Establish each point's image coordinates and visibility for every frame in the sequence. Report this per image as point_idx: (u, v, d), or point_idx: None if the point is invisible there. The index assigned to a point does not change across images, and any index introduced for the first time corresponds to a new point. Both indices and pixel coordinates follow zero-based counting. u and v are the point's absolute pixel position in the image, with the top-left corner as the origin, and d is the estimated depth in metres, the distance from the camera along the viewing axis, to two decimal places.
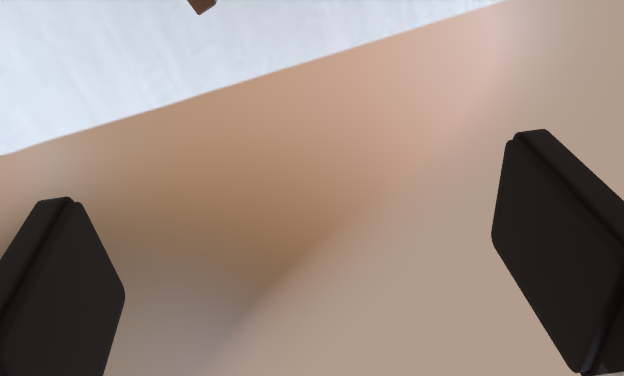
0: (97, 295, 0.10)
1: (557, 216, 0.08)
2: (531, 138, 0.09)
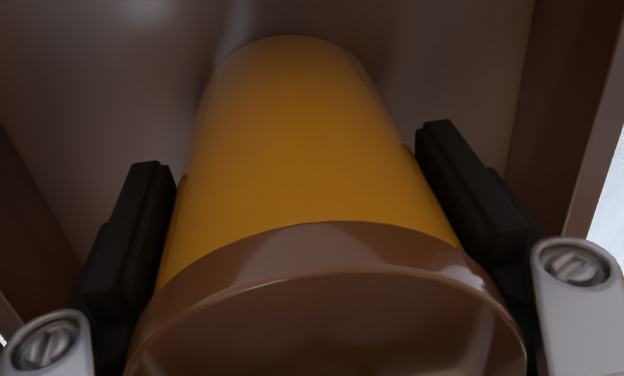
0: None
1: (446, 197, 0.09)
2: (433, 127, 0.10)
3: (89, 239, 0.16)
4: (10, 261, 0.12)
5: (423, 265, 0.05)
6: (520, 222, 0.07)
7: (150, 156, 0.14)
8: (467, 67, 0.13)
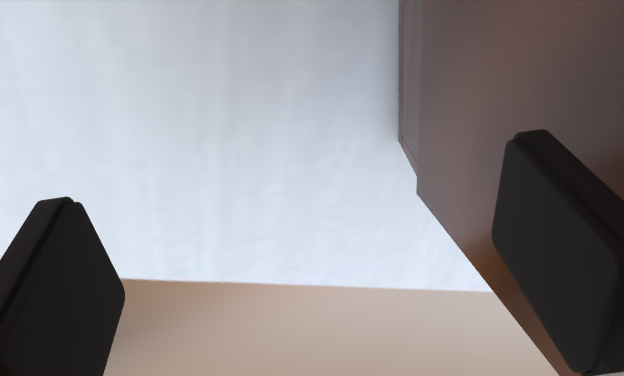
0: (97, 295, 0.10)
1: (557, 216, 0.08)
2: (531, 138, 0.09)
3: None
4: None
5: None
6: None
7: None
8: None
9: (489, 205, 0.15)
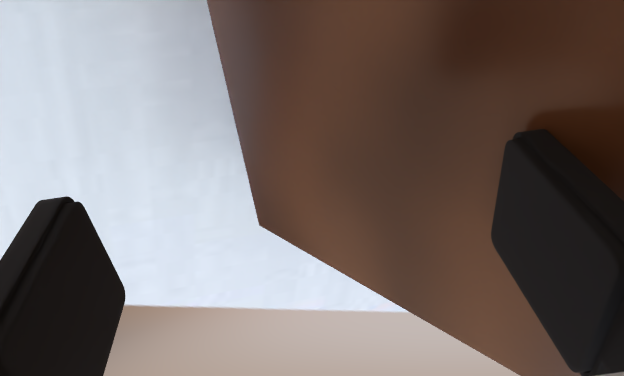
0: (97, 295, 0.10)
1: (557, 216, 0.08)
2: (531, 138, 0.09)
3: None
4: None
5: None
6: None
7: None
8: None
9: (344, 213, 0.16)
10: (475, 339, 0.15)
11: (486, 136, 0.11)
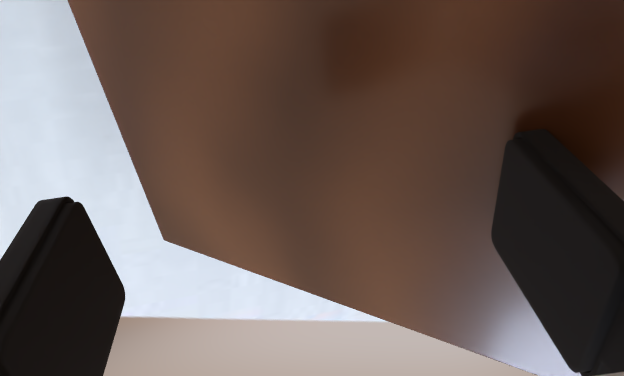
0: (97, 295, 0.10)
1: (557, 216, 0.08)
2: (531, 138, 0.09)
3: None
4: None
5: None
6: None
7: None
8: None
9: (244, 212, 0.17)
10: (378, 308, 0.16)
11: (353, 120, 0.12)
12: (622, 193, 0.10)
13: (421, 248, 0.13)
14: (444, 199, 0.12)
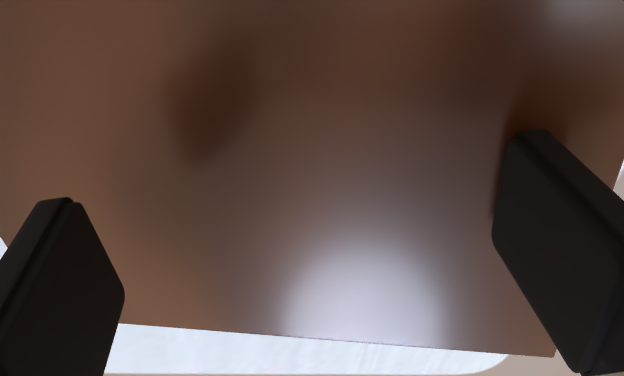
0: (97, 295, 0.10)
1: (557, 216, 0.08)
2: (531, 138, 0.09)
3: None
4: None
5: None
6: None
7: None
8: None
9: (161, 264, 0.14)
10: (329, 330, 0.15)
11: (285, 141, 0.11)
12: None
13: (371, 259, 0.13)
14: (391, 205, 0.12)
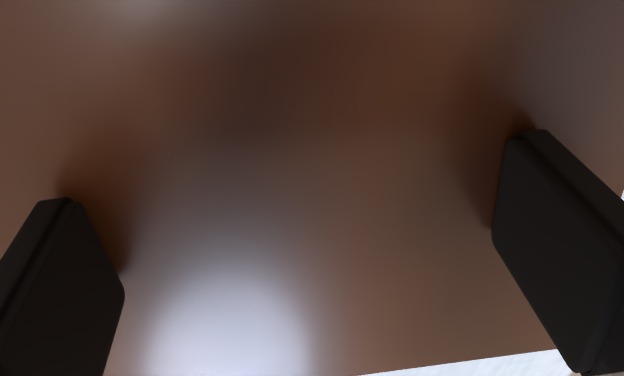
0: (97, 295, 0.10)
1: (557, 216, 0.08)
2: (531, 138, 0.09)
3: None
4: None
5: None
6: None
7: None
8: None
9: (156, 333, 0.13)
10: (348, 366, 0.14)
11: (307, 177, 0.10)
12: None
13: (395, 286, 0.12)
14: (418, 228, 0.11)
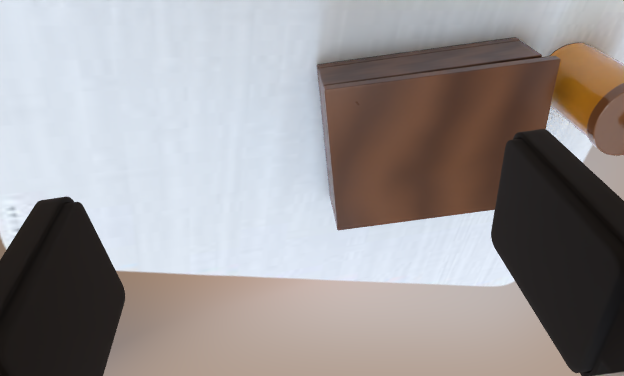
0: (97, 295, 0.10)
1: (557, 216, 0.08)
2: (531, 138, 0.09)
3: None
4: None
5: None
6: None
7: None
8: None
9: (397, 193, 0.40)
10: (454, 210, 0.41)
11: (454, 141, 0.37)
12: None
13: (473, 177, 0.39)
14: (482, 157, 0.38)
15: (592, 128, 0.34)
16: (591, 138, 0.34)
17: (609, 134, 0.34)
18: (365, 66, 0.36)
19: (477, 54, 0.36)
